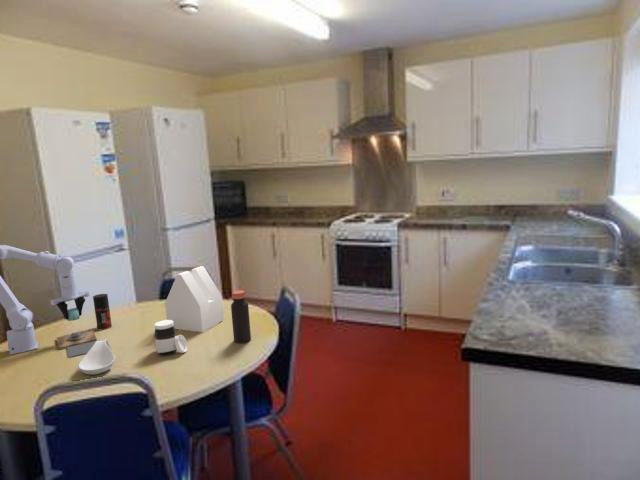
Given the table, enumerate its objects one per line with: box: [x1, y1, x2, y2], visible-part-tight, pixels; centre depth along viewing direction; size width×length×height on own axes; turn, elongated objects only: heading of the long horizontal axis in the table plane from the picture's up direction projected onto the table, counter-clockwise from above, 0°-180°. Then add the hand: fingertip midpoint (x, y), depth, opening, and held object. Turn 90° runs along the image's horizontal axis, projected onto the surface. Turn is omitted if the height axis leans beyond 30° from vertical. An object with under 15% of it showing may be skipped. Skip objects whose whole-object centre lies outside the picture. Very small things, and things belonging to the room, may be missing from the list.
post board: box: [56, 329, 98, 351], centre depth 189 cm, size 14×14×3 cm
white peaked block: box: [164, 265, 225, 333], centre depth 200 cm, size 19×15×25 cm
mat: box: [66, 339, 101, 359], centre depth 180 cm, size 12×12×1 cm
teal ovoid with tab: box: [66, 307, 81, 322], centre depth 188 cm, size 6×5×4 cm
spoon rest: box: [77, 339, 116, 376], centre depth 164 cm, size 24×12×7 cm, turn 19°
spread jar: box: [153, 319, 188, 356], centre depth 172 cm, size 12×11×12 cm
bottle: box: [230, 289, 252, 344], centre depth 178 cm, size 7×7×20 cm
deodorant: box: [92, 293, 113, 331], centre depth 203 cm, size 6×6×15 cm
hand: (73, 317), depth 188 cm, fingers closed on teal ovoid with tab, 5 cm apart
